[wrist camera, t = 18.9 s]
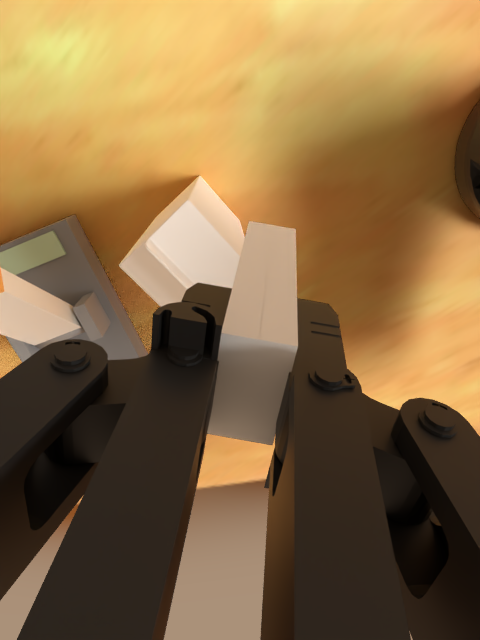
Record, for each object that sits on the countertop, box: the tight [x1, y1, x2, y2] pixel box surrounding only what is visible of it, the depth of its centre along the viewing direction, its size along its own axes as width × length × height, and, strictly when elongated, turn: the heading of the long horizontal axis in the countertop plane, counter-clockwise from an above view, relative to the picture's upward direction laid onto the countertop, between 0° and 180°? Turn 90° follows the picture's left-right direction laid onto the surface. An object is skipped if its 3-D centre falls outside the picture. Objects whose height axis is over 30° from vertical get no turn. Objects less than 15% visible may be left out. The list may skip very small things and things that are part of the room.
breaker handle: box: [0, 267, 85, 349], centre depth 38 cm, size 3×6×15 cm
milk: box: [119, 176, 245, 307], centre depth 35 cm, size 6×6×22 cm
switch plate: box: [0, 214, 148, 362], centre depth 45 cm, size 18×10×7 cm, turn 21°
